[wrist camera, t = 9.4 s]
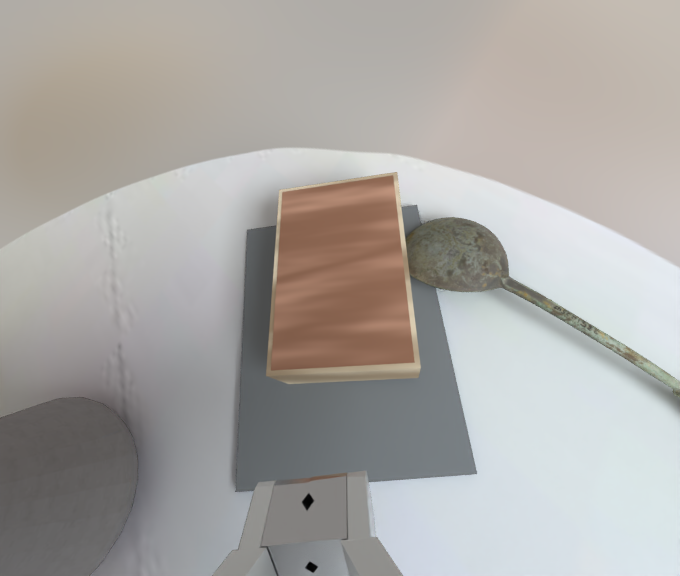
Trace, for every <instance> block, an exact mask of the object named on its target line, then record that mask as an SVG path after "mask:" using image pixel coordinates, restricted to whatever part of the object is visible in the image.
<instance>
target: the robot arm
mask: <svg viewBox="0 0 680 576" xmlns="http://www.w3.org/2000/svg"><path fill="white" fill-rule="evenodd" d="M212 576H403V575H402V573H401V572H400V570H399V569H398V567H397V566H396V564H395V563H394V561H393V560H392V558H391V557H390V555H389V554H388V552H387V551H386V549H385V548H384V546H383V545H382V543H381V542H380V540H379V539H378V538H377V537H376V530H375V520H374V513H373V506H372V499H371V493H370V487H369V481H368V476H367V471H360V472H351V473H348V472H346V473H338V474H330V475H322V476H314V477H312V478H301V479H288V480H275V481H265V482H258V484H257V486H256V487H255V489H254V493H253V497H252V500H251V504H250V508H249V511H248V515H247V519H246V522H245V526H244V529H243V533H242V537H241V540H240V544H239V548H238V550H232V551H231V553H230V554H229V555H228V556H227V558H226V559H225V560H224V561H223V563H222V564H221V565H220V566H219V568H218V569H217V570H216V571H215V573H214V574H213V575H212Z"/></svg>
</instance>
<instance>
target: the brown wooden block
mask: <svg viewBox="0 0 680 576" xmlns="http://www.w3.org/2000/svg"><path fill="white" fill-rule="evenodd" d="M420 369H421V365H420V357H419V348H418V340H417V332H416V324H415V315H414V307H413V299H412V291H411V283H410V274H409V266H408V258H407V250H406V241H405V233H404V225H403V217H402V208H401V200H400V192H399V184H398V175H397V172H394V173H387V174H381V175H374V176H367V177H361V178H354V179H348V180H341V181H335V182H328V183H322V184H315V185H308V186H302V187H295V188H289V189H282V190H279V200H278V214H277V228H276V242H275V257H274V271H273V285H272V299H271V313H270V327H269V341H268V355H267V369H266V376H267V377H270V378H273V379H276V380H278V381H281V382H284V383H287V384H302V383H323V382H344V381H365V380H386V379H407V378H419V373H420Z"/></svg>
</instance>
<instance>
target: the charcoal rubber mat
mask: <svg viewBox="0 0 680 576" xmlns="http://www.w3.org/2000/svg"><path fill="white" fill-rule="evenodd" d="M401 208H402V217H403V225H404V233H405V239H406V238H407V237H408V235H409V234H410V233H411V232H412V231H413V230H415V229H416V228H418V227H419V226H421V221H420V217H419V212H418V208H417V205H413V206H407V207H401ZM276 228H277V226H271V227H264V228H257V229H250V230H247V252H246V274H245V296H244V317H243V339H242V361H241V382H240V404H239V426H238V448H237V469H236V491H235V492H242V491H254V489H255V487H256V486H257V484H258V482H265V481H275V480H288V479H301V478H312V477H314V476H322V475H330V474H338V473H346V472H348V473H351V472H360V471H367V476H368V481H369V482H377V481H390V480H403V479H417V478H430V477H444V476H457V475H471V474H477V471H476V467H475V462H474V458H473V453H472V449H471V444H470V440H469V435H468V431H467V426H466V422H465V418H464V413H463V409H462V404H461V400H460V395H459V391H458V386H457V382H456V377H455V373H454V368H453V364H452V360H451V355H450V351H449V346H448V342H447V337H446V333H445V328H444V324H443V319H442V315H441V310H440V306H439V301H438V297H437V293H436V288H435V287H433V286H430V285H427V284H425V283H423V282H421V281H419V280H417V279H416V278H414V277H412V276H411V275H410V283H411V291H412V299H413V307H414V315H415V324H416V332H417V340H418V348H419V357H420V365H421V369H420V373H419V378H407V379H386V380H365V381H344V382H323V383H302V384H287V383H284V382H281V381H278V380H276V379H273V378H270V377H267V376H266V369H267V355H268V341H269V327H270V313H271V299H272V285H273V271H274V257H275V242H276Z"/></svg>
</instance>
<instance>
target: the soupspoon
mask: <svg viewBox="0 0 680 576" xmlns="http://www.w3.org/2000/svg"><path fill="white" fill-rule="evenodd" d="M405 241H406V250H407V258H408V266H409V274H410V275H411V276H412V277H414V278H416V279H417V280H419V281H421V282H423V283H425V284H427V285H430V286H433V287H436V288H440V289H445V290H450V291H458V292H481V291H488V290H493V289H497V288H504V289H506V290H508V291H510V292H512V293H514V294H516V295H518V296H519V297H521V298H523V299H525V300H527V301H529V302H531V303H533V304H535V305H536V306H538V307H540V308H542V309H544V310H545V311H547V312H549V313H550V314H552V315H554V316H556V317H557V318H559V319H561V320H563V321H564V322H566V323H568V324H569V325H571V326H573V327H574V328H576V329H577V330H579V331H581V332H583V333H584V334H586V335H587V336H589V337H591V338H592V339H594V340H596V341H597V342H599V343H601V344H602V345H604V346H606V347H607V348H609V349H611V350H612V351H614V352H615V353H617V354H619V355H620V356H622V357H624V358H625V359H627V360H628V361H630V362H631V363H633V364H634V365H636V366H638V367H639V368H641V369H642V370H644V371H645V372H647V373H648V374H650V375H652V376H653V377H655V378H656V379H658V380H660V381H662V382H663V383H664V384H666V385H668V386H669V387H671V388H672V389H673V391H672V392H673V394H674V395H676V396H678V397H680V381H678V380H677V379H675V378H674V377H673V376H671V375H670V374H668V373H667V372H665V371H664V370H662V369H661V368H659V367H658V366H656V365H655V364H653V363H652V362H650V361H649V360H647V359H646V358H644V357H643V356H641V355H640V354H638V353H637V352H635V351H633V350H632V349H630V348H629V347H627V346H625V345H624V344H622V343H620V342H619V341H617V340H615V339H614V338H612V337H610V336H609V335H607V334H606V333H604V332H602V331H601V330H599V329H597V328H596V327H594V326H592V325H591V324H589V323H587V322H586V321H584V320H582V319H581V318H579V317H577V316H576V315H574V314H572V313H571V312H569V311H568V310H566V309H564V308H563V307H561V306H560V305H558V304H556V303H555V302H553V301H552V300H550V299H548V298H546V297H544V296H543V295H541V294H539V293H538V292H536V291H534V290H532V289H530V288H528V287H527V286H525V285H523V284H521V283H519V282H517V281H516V280H514V279H512V278H510V277H509V268H508V259H507V255H506V252H505V250H504V248H503V246H502V245H501V243H500V241H499V240H498V238H497V237H496V236H495V235H494V234H493V233H492V232H491V231H490V230H488V229H487V228H486V227H484V226H482V225H480V224H478V223H476V222H474V221H471V220H467V219H462V218H455V217H451V218H441V219H436V220H433V221H430V222H427V223H425V224H423V225H421V226H419V227H418V228H416V229H415V230H413V231H412V232H411V233H410V234H409V235H408V237H407V238H406V239H405Z"/></svg>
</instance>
